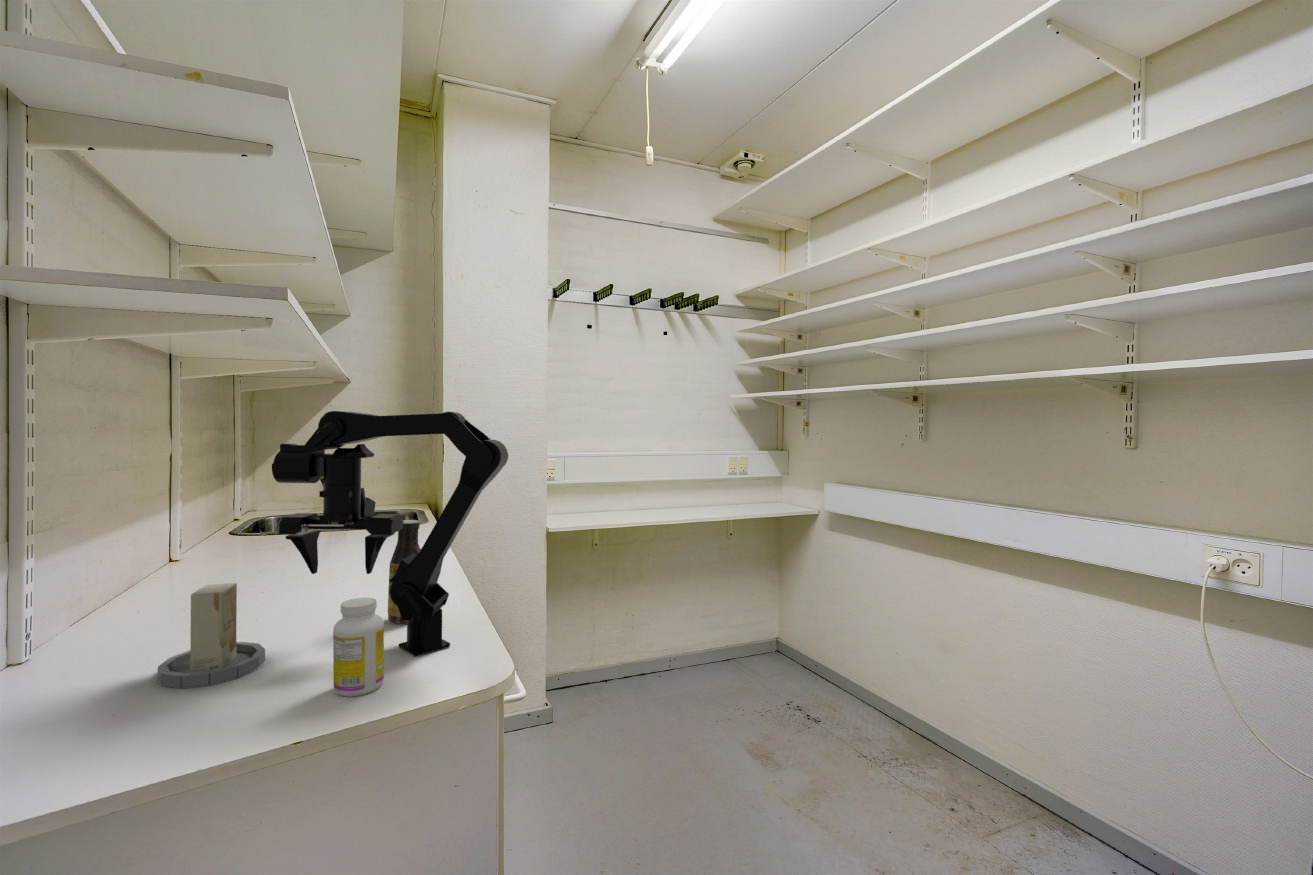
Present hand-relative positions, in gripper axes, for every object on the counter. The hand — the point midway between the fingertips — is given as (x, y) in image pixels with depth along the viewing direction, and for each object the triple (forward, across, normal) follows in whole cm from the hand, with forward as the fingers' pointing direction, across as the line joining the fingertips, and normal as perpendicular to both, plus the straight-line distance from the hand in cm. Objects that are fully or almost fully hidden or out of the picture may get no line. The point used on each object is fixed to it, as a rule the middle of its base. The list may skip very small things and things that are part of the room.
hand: (341, 573), depth 100 cm
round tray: (+13, +16, +8) cm, 22 cm away
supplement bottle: (+13, -10, +16) cm, 23 cm away
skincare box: (+13, +16, +8) cm, 22 cm away
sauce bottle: (+13, -6, -14) cm, 20 cm away
